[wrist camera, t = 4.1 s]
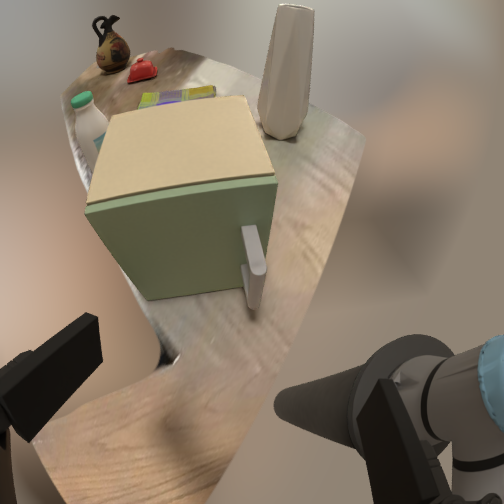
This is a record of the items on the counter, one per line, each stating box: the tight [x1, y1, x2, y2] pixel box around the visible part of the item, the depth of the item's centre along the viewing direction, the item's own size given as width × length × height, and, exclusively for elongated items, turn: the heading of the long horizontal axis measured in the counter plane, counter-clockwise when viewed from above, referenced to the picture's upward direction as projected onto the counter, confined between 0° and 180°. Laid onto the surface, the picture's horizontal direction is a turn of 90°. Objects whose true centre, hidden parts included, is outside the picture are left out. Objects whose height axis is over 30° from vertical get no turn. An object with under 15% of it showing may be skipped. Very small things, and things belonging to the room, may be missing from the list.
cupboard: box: [86, 95, 275, 206], centre depth 37 cm, size 16×18×22 cm
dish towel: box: [137, 85, 216, 110], centre depth 68 cm, size 18×24×3 cm
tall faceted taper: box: [257, 4, 314, 140], centre depth 49 cm, size 12×12×33 cm
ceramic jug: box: [92, 15, 130, 79], centre depth 77 cm, size 17×15×30 cm
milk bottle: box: [71, 91, 109, 173], centre depth 47 cm, size 8×8×20 cm
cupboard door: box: [85, 176, 278, 309], centre depth 31 cm, size 7×18×22 cm, turn 101°
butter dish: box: [127, 58, 157, 83], centre depth 79 cm, size 12×12×8 cm
